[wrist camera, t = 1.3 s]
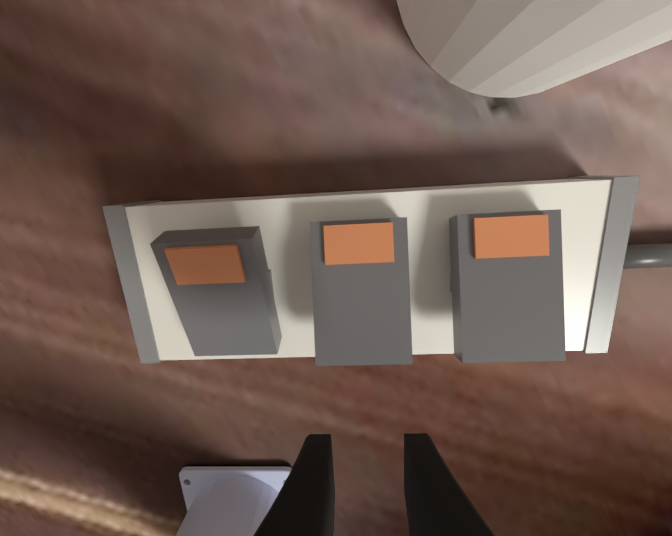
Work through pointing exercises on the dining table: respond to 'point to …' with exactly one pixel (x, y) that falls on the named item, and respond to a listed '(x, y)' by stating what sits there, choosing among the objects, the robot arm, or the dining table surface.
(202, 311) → the rocker
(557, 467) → the dining table surface
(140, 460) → the dining table surface
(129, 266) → the power strip
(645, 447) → the dining table surface
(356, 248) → the rocker
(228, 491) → the robot arm
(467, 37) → the bottle
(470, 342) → the block
